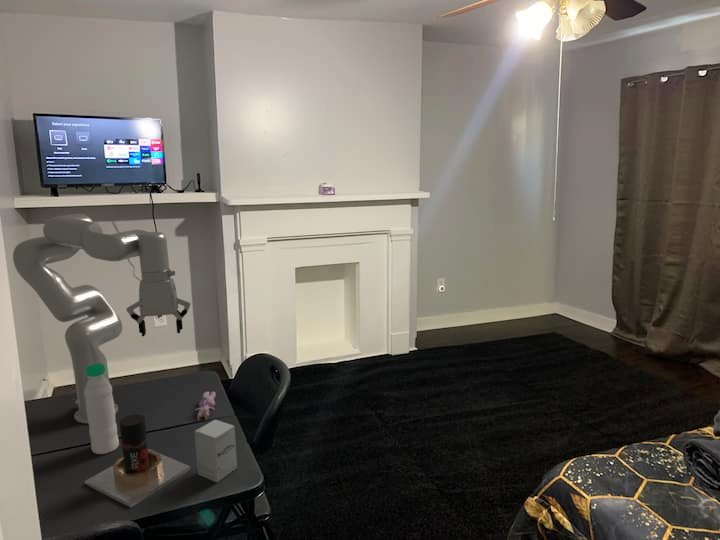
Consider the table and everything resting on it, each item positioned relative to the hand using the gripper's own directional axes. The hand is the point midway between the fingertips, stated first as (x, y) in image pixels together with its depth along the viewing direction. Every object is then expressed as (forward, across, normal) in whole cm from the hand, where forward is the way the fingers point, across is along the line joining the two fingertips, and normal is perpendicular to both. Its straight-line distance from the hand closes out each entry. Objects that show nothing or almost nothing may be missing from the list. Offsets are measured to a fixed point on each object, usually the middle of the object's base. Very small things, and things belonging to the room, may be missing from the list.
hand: (161, 333), depth 159 cm
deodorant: (+30, +6, +24) cm, 38 cm away
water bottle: (+31, +17, +7) cm, 36 cm away
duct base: (+30, +6, +24) cm, 39 cm away
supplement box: (+31, -14, +27) cm, 43 cm away
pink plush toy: (+31, -10, -10) cm, 34 cm away
